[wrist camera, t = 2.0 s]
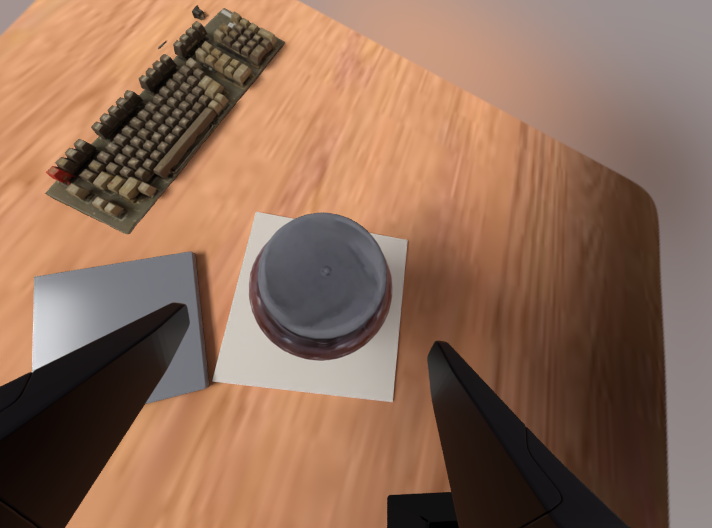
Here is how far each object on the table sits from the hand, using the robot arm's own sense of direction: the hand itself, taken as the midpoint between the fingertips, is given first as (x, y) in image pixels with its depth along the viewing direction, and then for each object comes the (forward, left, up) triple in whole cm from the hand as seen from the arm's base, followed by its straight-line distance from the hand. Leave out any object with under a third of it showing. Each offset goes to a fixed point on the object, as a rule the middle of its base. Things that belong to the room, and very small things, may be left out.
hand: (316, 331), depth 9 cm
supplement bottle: (+1, -1, -9) cm, 10 cm away
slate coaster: (+7, +10, -9) cm, 15 cm away
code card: (+1, -1, -9) cm, 10 cm away
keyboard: (+21, -1, -10) cm, 24 cm away
